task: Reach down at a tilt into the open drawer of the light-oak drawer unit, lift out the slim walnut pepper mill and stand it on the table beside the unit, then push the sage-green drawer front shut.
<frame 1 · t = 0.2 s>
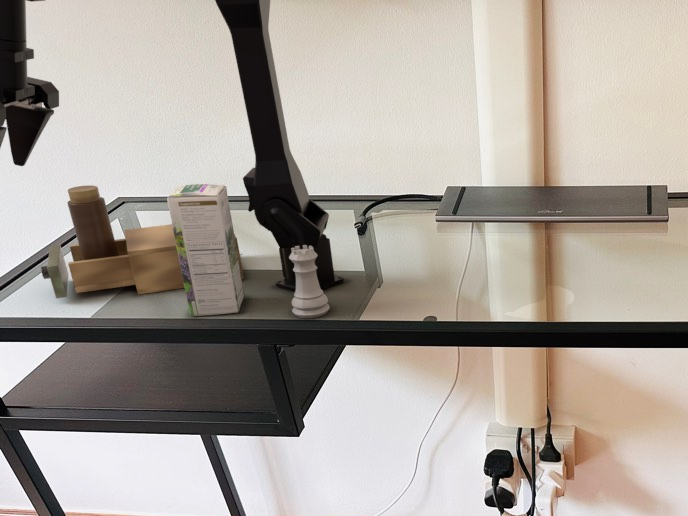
hand: (1, 173, 99), 15 cm above the table, tool pointing down, fingers open, 9 cm apart
drawer: (100, 265, 108), point 3 cm above the table, slide at 8.0 cm, touching pepper mill
rook chess piece: (311, 314, 100), on the table
drawer unit: (188, 274, 113), on the table
pepper mill: (104, 272, 109), point 2 cm above the table, touching drawer
syrup box: (219, 308, 102), on the table
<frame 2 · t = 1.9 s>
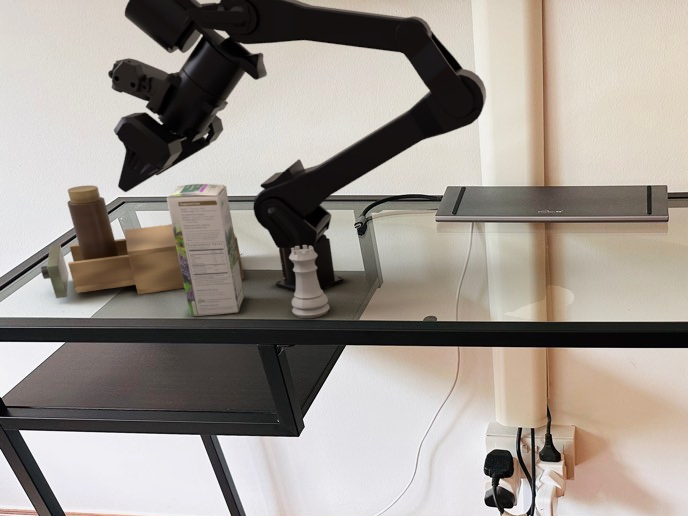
hand: (138, 180, 103), 14 cm above the table, tool tilted 45°, fingers open, 9 cm apart
nothing on the table moved.
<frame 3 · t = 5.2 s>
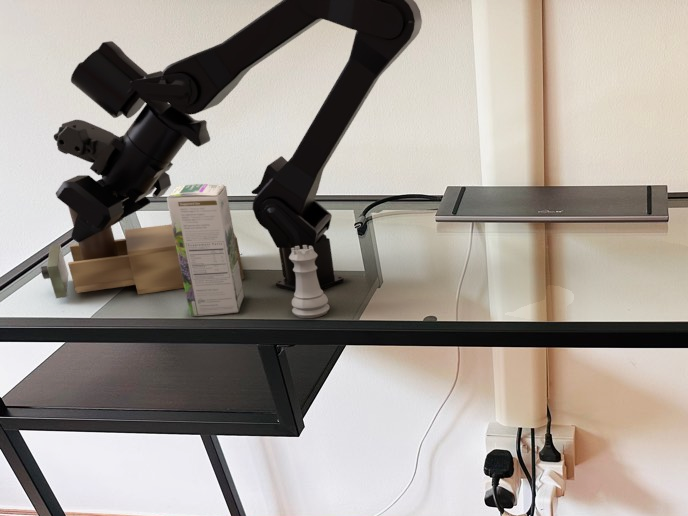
hand: (84, 234, 106), 7 cm above the table, tool tilted 45°, fingers closed on pepper mill, 4 cm apart
pepper mill: (104, 272, 109), point 2 cm above the table, touching drawer, gripper
everything else where it was.
when the fingers open (5 cm above the table, at t = 12.1 s): pepper mill stays where it is, on the table.
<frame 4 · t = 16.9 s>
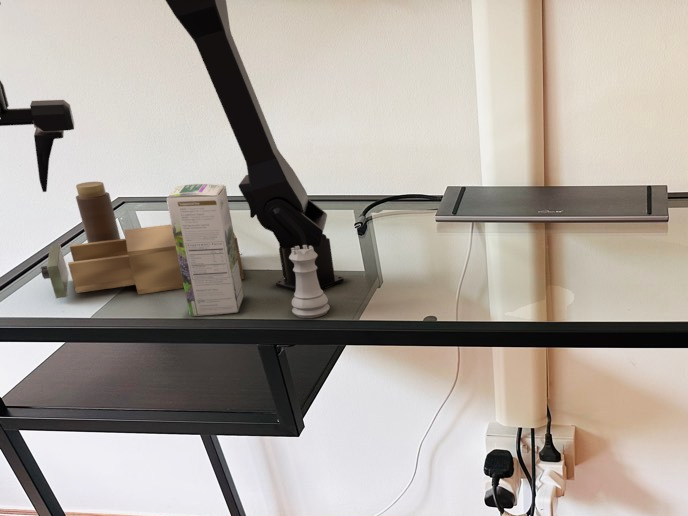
hand: (0, 194, 98), 13 cm above the table, tool pointing down, fingers open, 9 cm apart
drawer: (100, 265, 108), point 3 cm above the table, slide at 8.0 cm
pepper mill: (109, 261, 119), on the table
everything else where it was.
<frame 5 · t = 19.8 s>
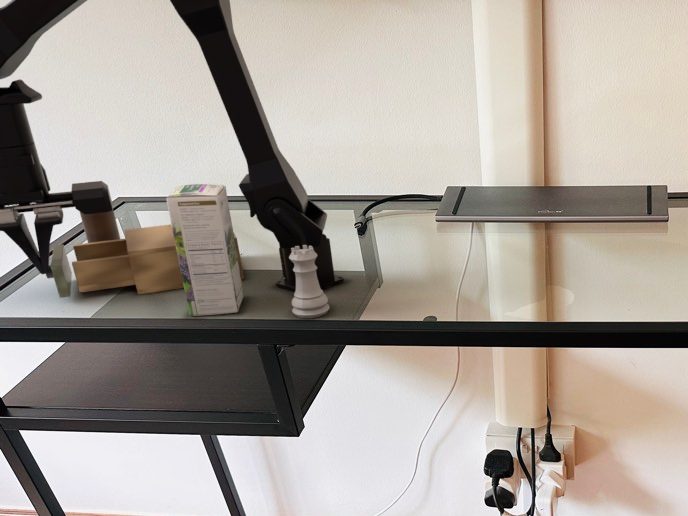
hand: (45, 273, 103), 3 cm above the table, tool pointing down, fingers closed
drawer: (104, 264, 108), point 3 cm above the table, slide at 7.6 cm, touching gripper
everything else where it was.
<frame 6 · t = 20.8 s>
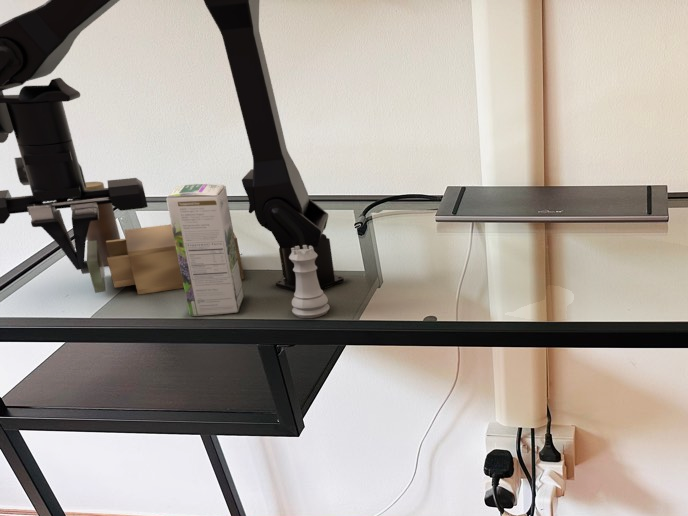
hand: (80, 268, 105), 3 cm above the table, tool pointing down, fingers closed
drawer: (137, 260, 110), point 3 cm above the table, slide at 3.6 cm, touching gripper
everything else where it was.
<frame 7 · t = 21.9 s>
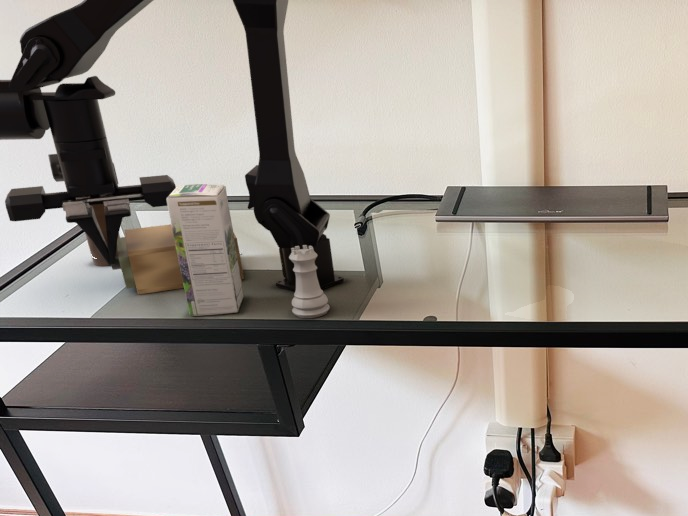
hand: (111, 264, 106), 4 cm above the table, tool pointing down, fingers closed
drawer: (166, 256, 111), point 3 cm above the table, slide at 0.0 cm, touching drawer unit, gripper
everything else where it was.
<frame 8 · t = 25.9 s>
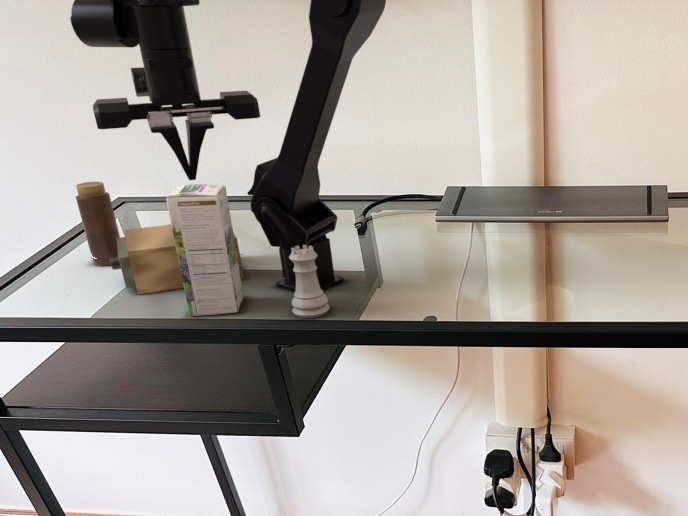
hand: (192, 179, 107), 13 cm above the table, tool pointing down, fingers closed
drawer: (166, 256, 111), point 3 cm above the table, slide at 0.0 cm, touching drawer unit
everything else where it was.
at the end: pepper mill 0.0 cm from the target spot, on the table; pepper mill tilted 0°; drawer slide at 0.0 cm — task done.
